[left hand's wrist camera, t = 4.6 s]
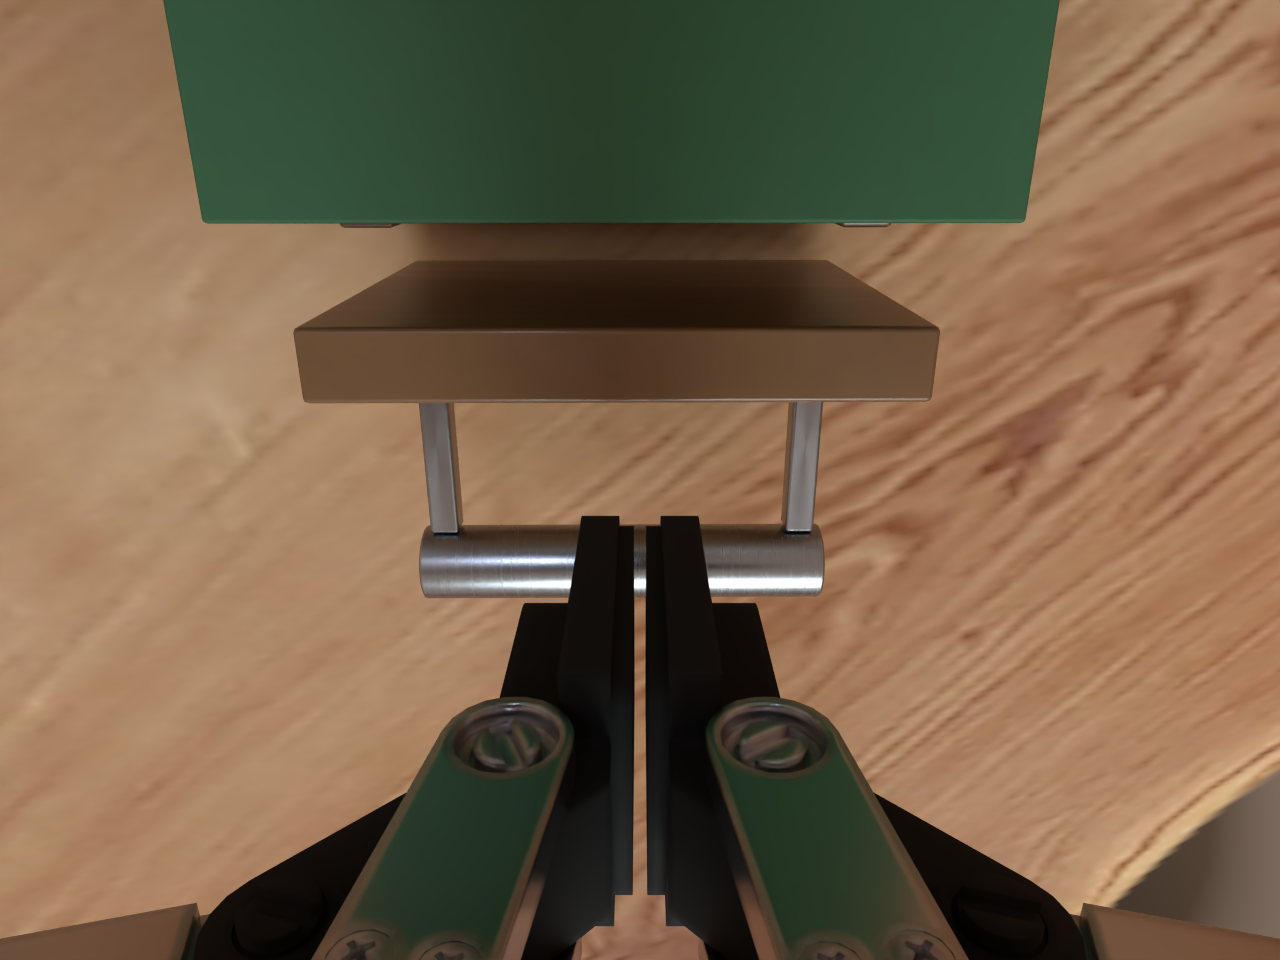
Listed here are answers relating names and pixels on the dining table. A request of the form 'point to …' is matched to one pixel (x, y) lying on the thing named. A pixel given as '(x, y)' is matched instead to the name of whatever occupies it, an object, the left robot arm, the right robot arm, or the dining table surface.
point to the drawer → (617, 385)
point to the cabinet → (612, 109)
